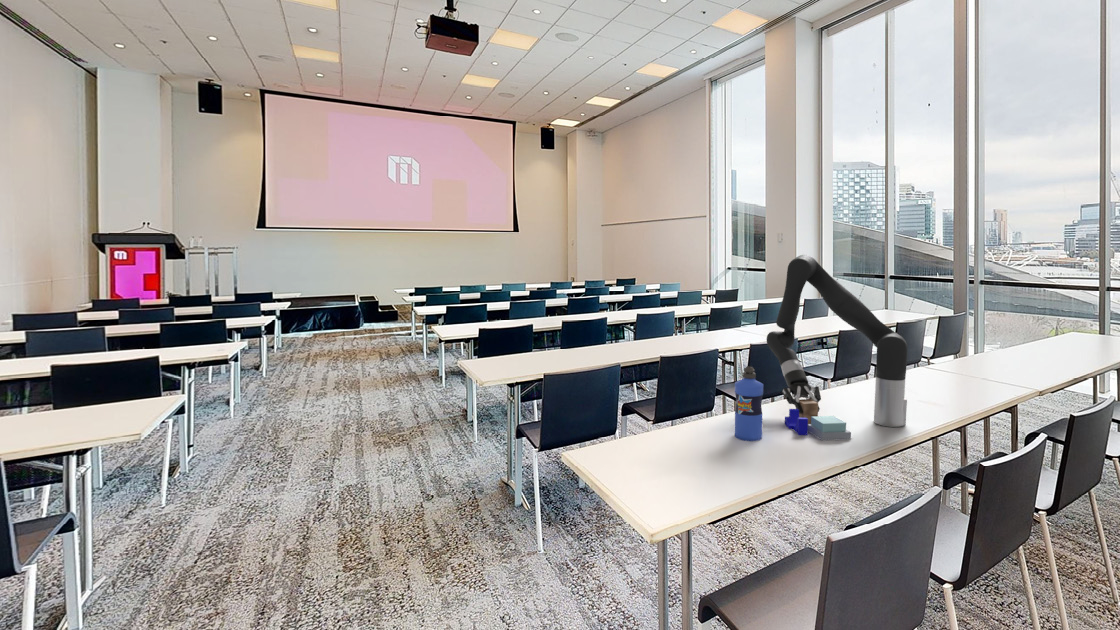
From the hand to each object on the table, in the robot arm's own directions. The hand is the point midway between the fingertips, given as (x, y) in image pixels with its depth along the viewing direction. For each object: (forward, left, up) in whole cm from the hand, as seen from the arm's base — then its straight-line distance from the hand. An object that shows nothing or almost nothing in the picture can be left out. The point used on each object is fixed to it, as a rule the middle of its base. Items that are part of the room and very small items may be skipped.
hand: (809, 412), depth 198 cm
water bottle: (+28, +10, -5) cm, 30 cm away
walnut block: (0, -2, -4) cm, 5 cm away
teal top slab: (0, +12, -2) cm, 12 cm away
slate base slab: (0, +12, -5) cm, 13 cm away
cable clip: (+8, +5, -5) cm, 11 cm away
